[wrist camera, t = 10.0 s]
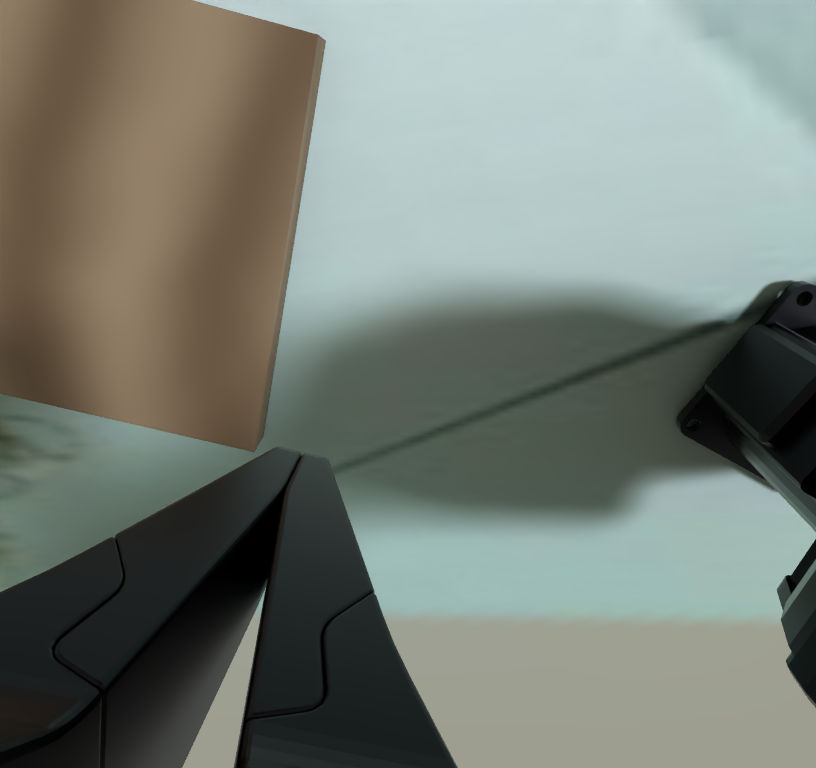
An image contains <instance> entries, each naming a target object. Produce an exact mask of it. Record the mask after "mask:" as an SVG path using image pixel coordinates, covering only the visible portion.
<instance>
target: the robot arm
mask: <svg viewBox="0 0 816 768" xmlns="http://www.w3.org/2000/svg"><path fill="white" fill-rule="evenodd" d="M802 292H806V296H805V298H804V299H803V300H802V301H801V302H798V303H797V297H798V295H799V294H801V293H802ZM694 419H697V421H696V423H695V424H694V425H693V426H687V425H688V423H689V422H690V421H691V420H694ZM676 424H677V427H678V428H679V430H680V431H681V432H682V433H683V434H684V435H685V436H687V437H689V438H691V439H692V440H694V441H696V442H698V443H700V444H701V445H703V446H705V447H707V448H709V449H710V450H712V451H714V452H716V453H718V454H720V455H721V456H723V457H725V458H727V459H729V460H730V461H732V462H734V463H736V464H738V465H740V466H741V467H743V468H745V469H747V470H749V471H750V472H752V473H754V474H756V475H758V476H759V477H761V478H763V479H765V480H767V481H768V482H769V483H770V484H771V485H772V486H773V487H774V488H775V489H776V490H777V492H778V493H779V494H780V495H781V496H782V497H783V498H784V499H785V500H786V501H787V502H788V503H789V504H790V505H791V506H792V507H793V508H794V509H795V510H796V512H797V513H798V514H799V515H800V516H801V517H802V518H803V519H804V520H805V521H806V522H807V523H808V524H809V525H810V526H811V527H812V528H813V529H814V531H815V532H816V286H815V285H812V284H810V283H807V282H804V281H799V282H795V283H793V284H791V285H790V286H789V287H788V288H786V289H785V291H784V292H783V293H782V294H781V295H780V297H779V298H778V299H777V300H776V301H775V302H774V304H773V305H772V306H771V307H770V308H769V309H768V311H767V312H766V313H765V314H764V315H763V317H762V318H761V319H760V320H759V321H758V322H757V324H756V325H755V326H752V327H751V328H750V329H749V330H748V331H747V332H746V333H745V335H744V336H743V337H742V338H741V339H740V340H739V342H738V343H737V344H736V345H735V346H734V347H733V349H732V350H731V351H730V352H729V353H728V355H727V356H726V357H725V358H724V359H723V360H722V362H721V363H720V364H719V365H718V366H717V368H716V369H715V370H714V371H713V372H712V373H711V375H710V376H709V377H708V378H707V379H706V381H705V385H704V386H703V387H702V388H701V389H700V391H699V392H698V393H697V394H696V395H695V396H694V398H693V399H692V400H691V401H690V402H689V403H688V405H687V406H686V407H685V408H684V409H683V411H682V412H681V413H680V414H679V416H678V417H677V420H676ZM265 588H266V590H265ZM264 590H265V596H264V601H263V607H262V613H261V618H260V624H259V629H258V635H257V640H256V647H255V652H254V657H253V664H252V668H251V674H250V680H249V686H248V691H247V696H246V703H245V708H244V713H243V719H242V725H241V730H240V736H239V741H238V747H237V752H236V758H235V763H234V768H458V767H457V765H456V764H455V762H454V760H453V758H452V756H451V754H450V752H449V750H448V748H447V746H446V745H445V743H444V741H443V739H442V737H441V735H440V733H439V731H438V729H437V727H436V725H435V723H434V722H433V720H432V718H431V716H430V714H429V712H428V710H427V708H426V706H425V704H424V702H423V700H422V699H421V697H420V695H419V693H418V691H417V689H416V687H415V685H414V683H413V681H412V679H411V677H410V675H409V673H408V671H407V669H406V667H405V665H404V663H403V661H402V659H401V657H400V655H399V653H398V651H397V649H396V646H395V644H394V642H393V639H392V637H391V634H390V632H389V629H388V627H387V624H386V622H385V619H384V617H383V614H382V611H381V608H380V605H379V602H378V599H377V597H376V595H375V594H374V589H373V586H372V583H371V580H370V577H369V574H368V572H367V569H366V566H365V563H364V560H363V557H362V554H361V552H360V549H359V546H358V543H357V540H356V537H355V534H354V532H353V529H352V526H351V523H350V520H349V517H348V514H347V511H346V509H345V506H344V503H343V500H342V497H341V494H340V491H339V489H338V486H337V483H336V480H335V477H334V474H333V471H332V469H331V466H330V463H329V461H328V459H327V458H324V457H320V456H315V455H311V454H303V455H302V457H301V453H300V452H298V451H294V450H289V449H285V448H281V447H276V448H274V449H272V450H270V451H268V452H266V453H265V454H263V455H261V456H259V457H257V458H255V459H254V460H252V461H250V462H248V463H246V464H244V465H243V466H241V467H239V468H237V469H235V470H233V471H232V472H230V473H228V474H226V475H224V476H222V477H221V478H219V479H217V480H215V481H213V482H211V483H210V484H208V485H206V486H204V487H202V488H200V489H199V490H197V491H195V492H193V493H191V494H190V495H188V496H186V497H184V498H182V499H180V500H179V501H177V502H175V503H173V504H171V505H169V506H168V507H166V508H164V509H162V510H160V511H158V512H157V513H155V514H153V515H151V516H149V517H147V518H146V519H144V520H142V521H140V522H138V523H136V524H135V525H133V526H131V527H129V528H127V529H125V530H124V531H122V532H120V533H118V534H116V536H115V538H113V537H111V538H109V539H107V540H105V541H103V542H101V543H99V544H98V545H96V546H94V547H92V548H90V549H88V550H86V551H84V552H83V553H81V554H79V555H77V556H75V557H73V558H71V559H69V560H67V561H65V562H63V563H61V564H59V565H57V566H55V567H53V568H51V569H50V570H47V571H45V572H43V573H41V574H39V575H37V576H34V577H32V578H30V579H28V580H26V581H24V582H21V583H19V584H17V585H15V586H13V587H11V588H8V589H6V590H4V591H2V592H0V768H182V767H183V765H184V762H185V760H186V758H187V756H188V754H189V751H190V750H191V747H192V745H193V743H194V741H195V739H196V736H197V735H198V732H199V730H200V728H201V726H202V724H203V722H204V720H205V718H206V715H207V713H208V711H209V709H210V707H211V705H212V703H213V700H214V698H215V696H216V694H217V692H218V690H219V688H220V685H221V683H222V681H223V679H224V677H225V675H226V673H227V670H228V668H229V666H230V664H231V662H232V660H233V658H234V656H235V653H236V651H237V649H238V647H239V645H240V643H241V640H242V638H243V636H244V634H245V632H246V630H247V628H248V626H249V623H250V621H251V619H252V617H253V615H254V613H255V611H256V608H257V606H258V604H259V602H260V599H261V597H262V595H263V593H264ZM777 593H778V596H779V599H780V602H781V606H782V609H783V614H782V617H781V622H782V625H783V628H784V632H785V635H786V639H787V642H788V645H789V647H790V649H791V651H792V652H791V654H790V655H789V656H788V658H787V659H786V663H787V666H788V668H789V670H790V672H791V674H792V675H793V677H794V679H795V680H796V681H797V683H798V684H799V686H800V687H801V689H802V690H803V692H804V693H805V695H806V696H807V698H808V699H809V700H810V702H811V703H812V704H813V705H814V706H815V707H816V540H815V541H814V543H813V544H812V546H811V547H810V548H809V550H808V551H807V553H806V554H805V556H804V557H803V559H802V560H801V562H800V563H799V565H798V566H797V568H796V569H795V571H794V572H793V574H792V575H791V576H790V575H787V576H785V578H784V579H783V581H782V582H781V584H780V585H779V587H778V588H777Z"/></svg>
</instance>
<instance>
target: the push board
mask: <svg viewBox="0 0 816 768" xmlns="http://www.w3.org/2000/svg"><path fill="white" fill-rule="evenodd" d="M325 43H326V41H325V40H324V39H323V38H321V37H320V36H319V35H317V34H313V33H309V32H306V31H302V30H299V29H295V28H291V27H288V26H284V25H280V24H277V23H273V22H269V21H266V20H262V19H258V18H255V17H251V16H247V15H244V14H240V13H237V12H233V11H229V10H226V9H222V8H218V7H215V6H211V5H207V4H204V3H200V2H196V1H193V0H0V394H5V395H9V396H13V397H18V398H22V399H26V400H31V401H35V402H39V403H44V404H48V405H52V406H57V407H61V408H65V409H70V410H74V411H78V412H83V413H87V414H91V415H96V416H100V417H105V418H109V419H113V420H118V421H122V422H126V423H131V424H135V425H139V426H144V427H148V428H152V429H157V430H161V431H165V432H170V433H174V434H178V435H183V436H187V437H191V438H196V439H200V440H204V441H209V442H213V443H217V444H222V445H226V446H231V447H235V448H239V449H244V450H248V451H252V452H255V450H256V448H257V447H258V445H259V443H260V441H261V439H262V438H263V434H264V428H265V422H266V415H267V409H268V403H269V396H270V390H271V384H272V377H273V371H274V365H275V358H276V352H277V346H278V339H279V333H280V327H281V320H282V314H283V308H284V302H285V295H286V289H287V283H288V276H289V270H290V264H291V257H292V251H293V245H294V238H295V232H296V226H297V219H298V213H299V207H300V200H301V194H302V188H303V182H304V175H305V169H306V163H307V156H308V150H309V144H310V137H311V131H312V125H313V118H314V112H315V106H316V99H317V93H318V87H319V80H320V74H321V68H322V62H323V55H324V49H325Z"/></svg>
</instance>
